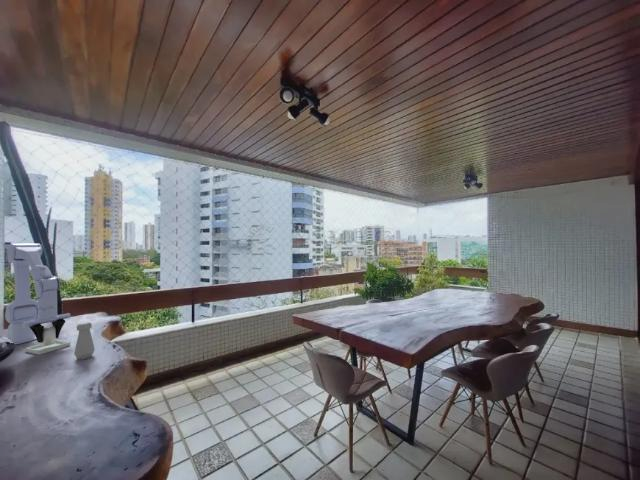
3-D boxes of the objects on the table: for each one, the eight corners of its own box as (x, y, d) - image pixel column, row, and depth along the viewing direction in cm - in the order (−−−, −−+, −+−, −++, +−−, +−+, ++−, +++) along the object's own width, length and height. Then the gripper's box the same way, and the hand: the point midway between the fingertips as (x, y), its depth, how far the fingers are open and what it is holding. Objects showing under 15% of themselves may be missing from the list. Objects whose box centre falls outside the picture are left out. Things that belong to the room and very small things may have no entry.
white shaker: (38, 345, 112) (37, 328, 113) (52, 341, 117) (51, 325, 117) (44, 346, 111) (43, 329, 111) (58, 343, 115) (57, 326, 115)
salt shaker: (85, 360, 100) (84, 325, 100) (70, 361, 100) (69, 325, 101) (98, 354, 106) (97, 320, 106) (84, 354, 106) (83, 320, 106)
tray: (25, 351, 111) (25, 348, 111) (56, 343, 120) (56, 339, 120) (39, 354, 107) (39, 351, 107) (70, 345, 117) (70, 342, 117)
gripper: (29, 312, 106) (29, 347, 106) (74, 303, 119) (75, 335, 119) (19, 310, 108) (20, 345, 108) (64, 303, 122) (65, 333, 122)
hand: (48, 340), depth 114 cm, fingers closed on white shaker, 4 cm apart
